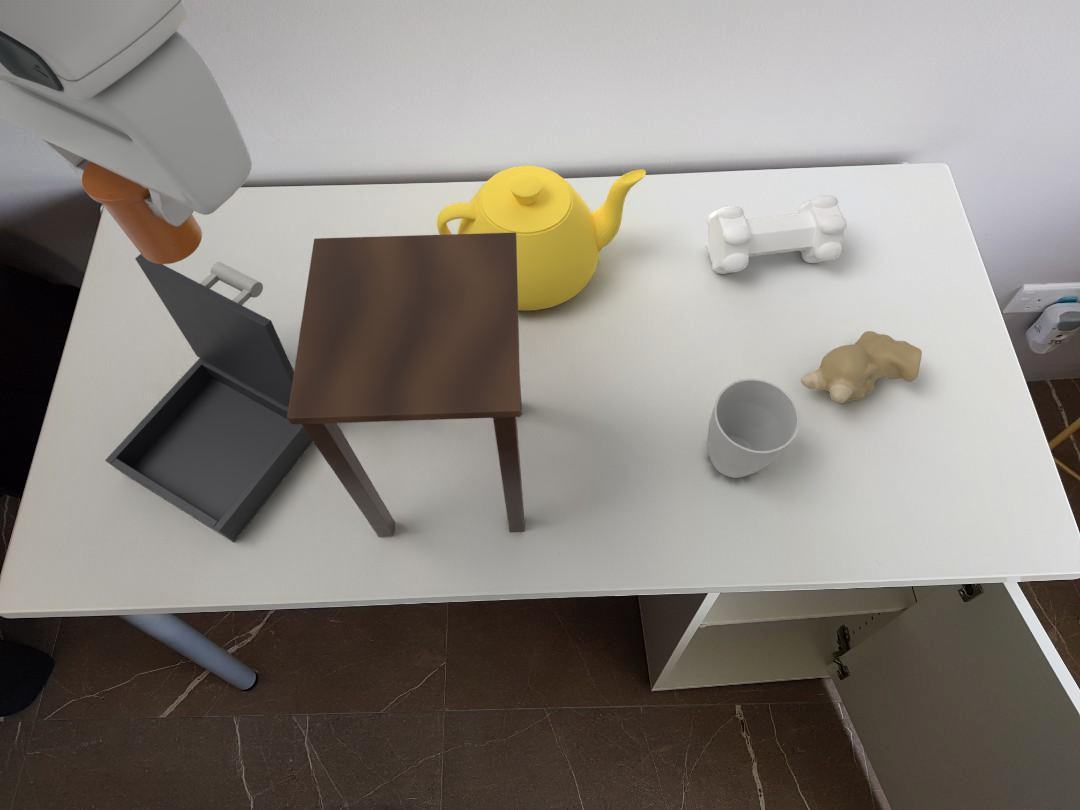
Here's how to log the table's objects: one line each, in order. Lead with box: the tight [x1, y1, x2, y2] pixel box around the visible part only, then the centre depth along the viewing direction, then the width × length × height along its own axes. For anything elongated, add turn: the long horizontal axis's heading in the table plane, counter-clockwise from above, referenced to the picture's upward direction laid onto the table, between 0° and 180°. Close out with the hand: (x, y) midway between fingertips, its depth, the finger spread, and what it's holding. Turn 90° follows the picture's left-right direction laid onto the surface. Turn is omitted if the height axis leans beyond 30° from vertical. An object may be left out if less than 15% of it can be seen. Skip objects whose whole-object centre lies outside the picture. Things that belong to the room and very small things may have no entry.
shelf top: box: [287, 232, 522, 424], centre depth 52 cm, size 16×16×1 cm
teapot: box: [436, 165, 647, 311], centre depth 84 cm, size 25×18×14 cm
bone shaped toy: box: [705, 194, 848, 275], centre depth 86 cm, size 15×9×8 cm, turn 98°
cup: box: [706, 378, 800, 479], centre depth 73 cm, size 8×8×10 cm
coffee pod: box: [81, 161, 203, 265], centre depth 43 cm, size 5×5×6 cm
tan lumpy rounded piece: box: [800, 330, 923, 404], centre depth 78 cm, size 8×7×12 cm
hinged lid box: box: [104, 357, 314, 543], centre depth 76 cm, size 15×16×4 cm
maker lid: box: [134, 253, 294, 407], centre depth 71 cm, size 15×16×5 cm
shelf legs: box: [301, 383, 526, 538], centre depth 65 cm, size 15×15×27 cm
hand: (141, 198), depth 43 cm, fingers closed on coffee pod, 4 cm apart
